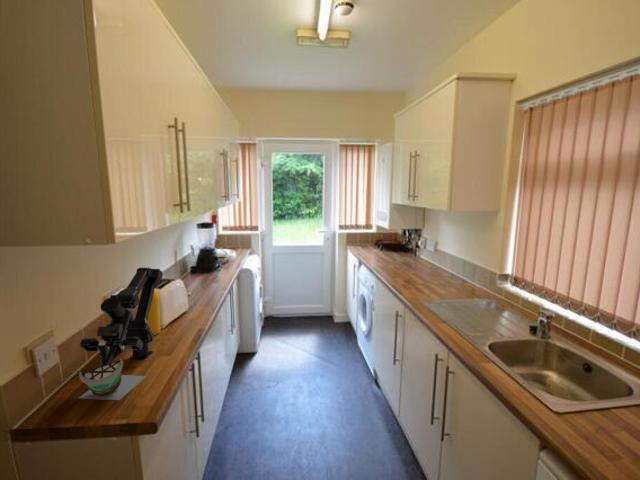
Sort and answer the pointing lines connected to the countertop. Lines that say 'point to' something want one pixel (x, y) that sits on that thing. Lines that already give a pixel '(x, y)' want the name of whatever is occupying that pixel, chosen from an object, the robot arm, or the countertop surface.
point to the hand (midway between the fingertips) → (103, 368)
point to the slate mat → (120, 392)
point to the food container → (103, 378)
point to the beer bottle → (154, 313)
